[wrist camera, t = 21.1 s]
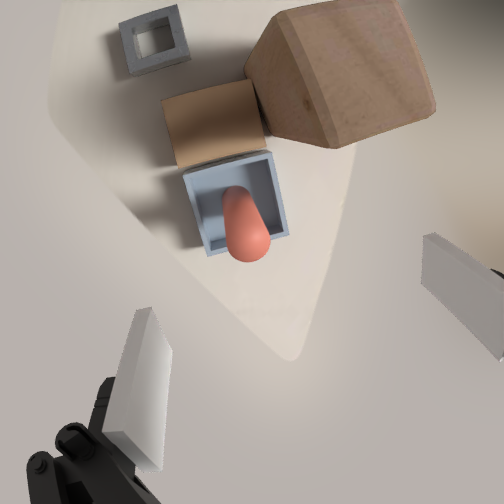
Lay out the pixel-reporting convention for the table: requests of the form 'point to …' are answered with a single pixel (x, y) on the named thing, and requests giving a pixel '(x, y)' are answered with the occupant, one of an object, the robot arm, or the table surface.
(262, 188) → the tray
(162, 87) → the table surface
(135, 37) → the socket
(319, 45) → the wooden block
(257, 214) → the dowel
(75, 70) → the table surface
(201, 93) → the cardboard box
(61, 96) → the table surface
